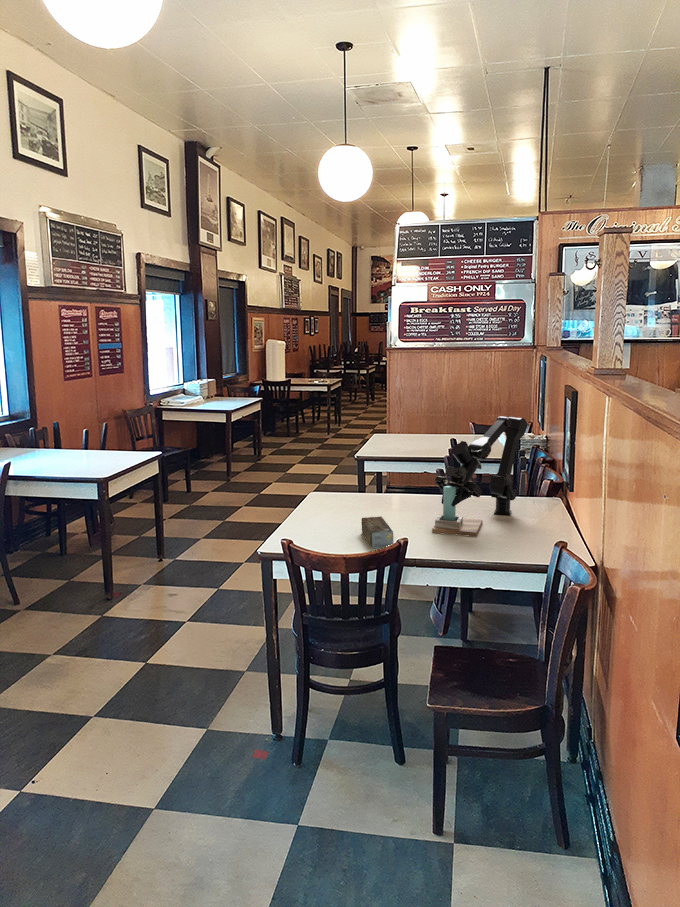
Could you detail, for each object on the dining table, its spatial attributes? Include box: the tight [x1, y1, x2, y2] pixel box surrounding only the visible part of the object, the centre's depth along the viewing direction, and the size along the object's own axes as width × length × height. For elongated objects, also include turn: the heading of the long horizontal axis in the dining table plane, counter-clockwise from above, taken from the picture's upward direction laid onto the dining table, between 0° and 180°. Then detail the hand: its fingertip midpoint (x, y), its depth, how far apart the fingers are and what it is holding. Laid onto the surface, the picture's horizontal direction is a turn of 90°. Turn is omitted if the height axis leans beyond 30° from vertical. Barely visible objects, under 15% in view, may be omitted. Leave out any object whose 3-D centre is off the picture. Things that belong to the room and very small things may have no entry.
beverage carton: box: [361, 516, 394, 549], centre depth 246 cm, size 8×19×7 cm, turn 9°
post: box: [442, 486, 457, 521], centre depth 258 cm, size 4×4×13 cm
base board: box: [431, 514, 483, 537], centre depth 261 cm, size 18×16×4 cm
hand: (447, 504), depth 258 cm, fingers closed on post, 4 cm apart
